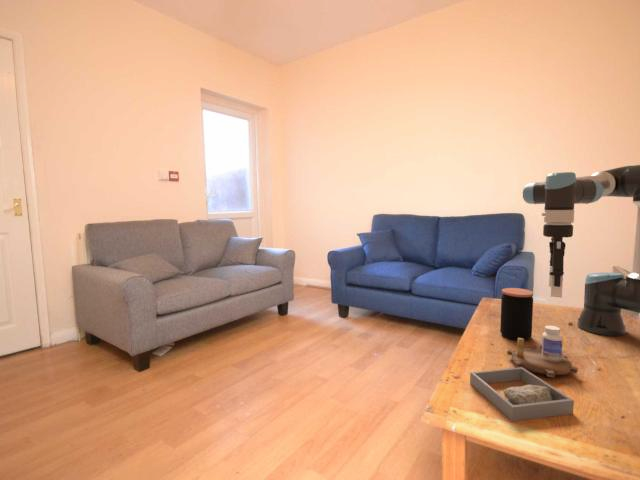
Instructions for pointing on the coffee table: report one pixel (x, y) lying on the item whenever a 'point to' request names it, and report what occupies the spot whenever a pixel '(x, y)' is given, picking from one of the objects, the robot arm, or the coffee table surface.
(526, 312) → the coffee jar
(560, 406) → the stone tray
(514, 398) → the decorative stone
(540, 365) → the turntable
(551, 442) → the coffee table surface
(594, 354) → the coffee table surface
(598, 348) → the coffee table surface
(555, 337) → the pill bottle
